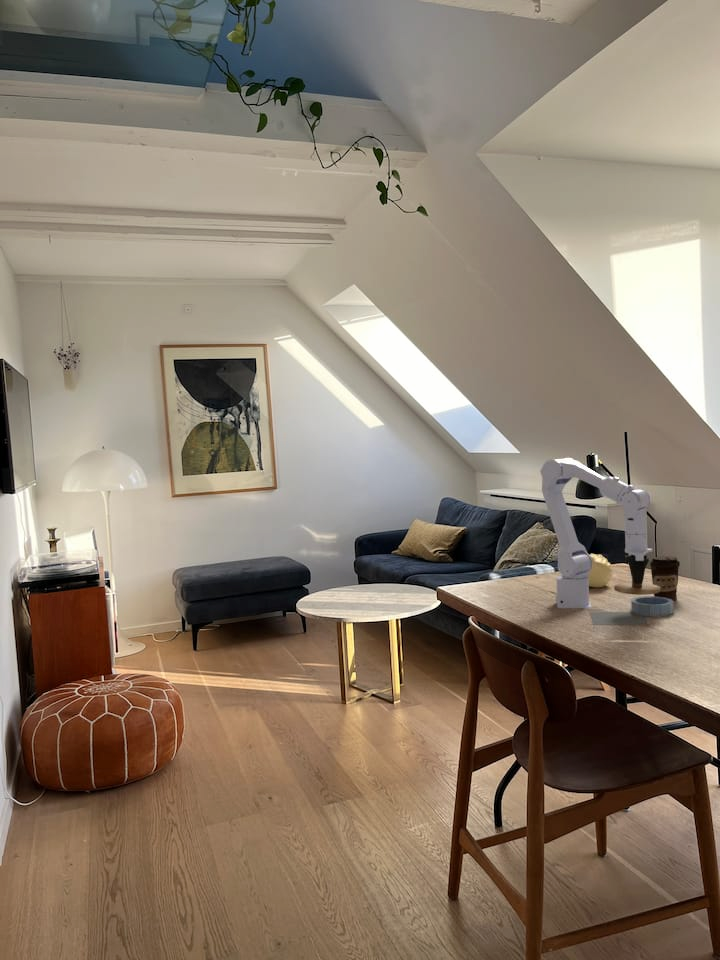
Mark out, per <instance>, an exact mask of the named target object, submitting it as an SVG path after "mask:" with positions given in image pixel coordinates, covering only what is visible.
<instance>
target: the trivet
mask: <svg viewBox="0 0 720 960" xmlns="http://www.w3.org/2000/svg"><path fill="white" fill-rule="evenodd" d="M588 614H589V615H590V619H591V622H592V625H593V626H649V625H650V624H649V623H648V621H647V619H646V616H643V615H638V614H635V613H632V611H589V613H588Z"/></svg>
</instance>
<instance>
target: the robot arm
mask: <svg viewBox="0 0 720 960" xmlns="http://www.w3.org/2000/svg"><path fill="white" fill-rule="evenodd" d="M540 475H541V484H542V485H541V492H542V495H543V499H544V503H545V505H546V508H547V512H548V515H549V516H550V521H551V524H552V527H553V529H554V533H555V536H556V538H557V542H558V545H559V549H558V551H557V553H556V558H557V569H558V572H559V573H560V575H561V576H556V578H555V580H556V582H555V584H556V595H555V602H556V603H557V604H556V605H557V608H558V609H592V605H591V602H590V591H589V588H590V586H589V583H588V575H589V571H590V570H591V569H592V566H593V561H592V558H591V557H590V554H589V553H588V551H587V549H586V547H585V546H584V545H583V544H582V543H580V542H579V540H578V537H577V534H576V530H575V527H574V525H573V522H572V518H571V515H570V513H569V510H568V507H567V503H566V501H565V498H564V497H565V496H564V493H563V490H564V488H565V487H566V485H567V484H568V483H569V482H570V481H571V480H572V479H573V478H574V479H575V478H576V479H579V480H580V481H583V482H584V483H587V484H589V485H590V486H593V487H596V488H598V489H599V492H600V494H601V495H602V496H603V497H605V498H608V499H610V500H612V501H613V502H615V503H617V504H619V506H620V507H621V509H622V510H623V514H624V515H623V516H624V536H625V537H624V539H625V541H624V543H625V548H624V552H625V553H626V554H628V555H625V556H624V558H625V560H626V561H627V563H628V567H629V571H630V575H631V578H632V577H633V581H634V584H642V583H644V578H645V577H644V576H645V571H646V568H647V566H648V565H649V562H650V559H649V558H648V556H647V554H648V553H653V548H648V520H647V519H648V515H647V508H648V507H649V506H650V503H651V497H650V495H649V493H648V492H647V491H646V490H644V488H636V489H635V488H634V487H635V486H634V485H632V484H627V483H625V482H623V481H621V480H620V477H617V476H608V477H604V476H603V475H601V474H600V473H597V472H595V471H594V470H592V469H591V468H589V467H587V466H585V465H584V464H582V463H581V462H580V461H579V460H574V459H573V458H572V457H563V458H557V459H552V458H551V459H550V458H549V459H547V460H546V461H545V462H544V463H543V465H542V467H541V469H540Z"/></svg>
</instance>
